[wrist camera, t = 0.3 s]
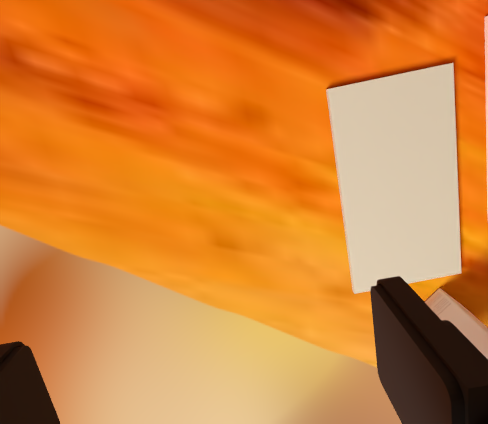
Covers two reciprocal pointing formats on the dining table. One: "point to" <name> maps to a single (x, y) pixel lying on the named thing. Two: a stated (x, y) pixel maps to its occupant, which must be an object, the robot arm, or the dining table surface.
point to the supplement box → (460, 319)
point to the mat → (398, 175)
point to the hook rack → (487, 79)
